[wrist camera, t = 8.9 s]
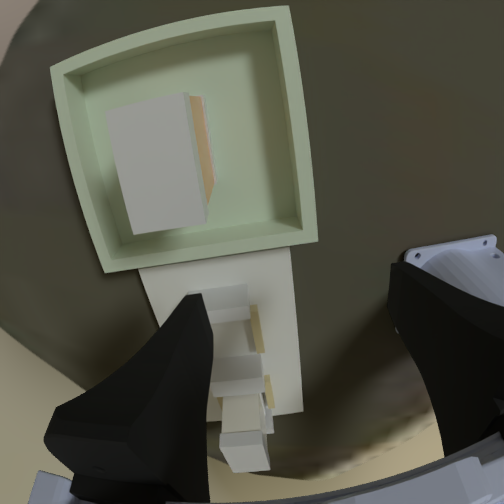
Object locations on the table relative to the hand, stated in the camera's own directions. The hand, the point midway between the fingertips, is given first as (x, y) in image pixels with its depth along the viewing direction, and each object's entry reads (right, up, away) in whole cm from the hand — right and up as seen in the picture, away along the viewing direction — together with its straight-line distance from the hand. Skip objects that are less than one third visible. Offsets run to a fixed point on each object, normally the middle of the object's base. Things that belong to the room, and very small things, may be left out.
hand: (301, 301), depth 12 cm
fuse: (-2, -10, +15) cm, 18 cm away
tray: (-6, +8, +6) cm, 12 cm away
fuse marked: (-6, +8, +6) cm, 11 cm away
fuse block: (-3, -6, +14) cm, 15 cm away
